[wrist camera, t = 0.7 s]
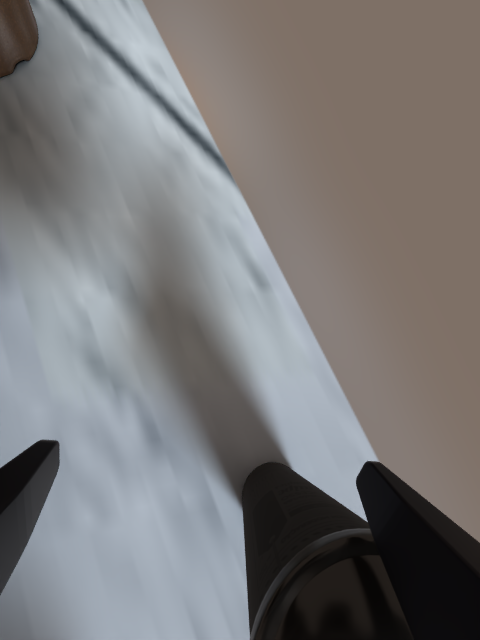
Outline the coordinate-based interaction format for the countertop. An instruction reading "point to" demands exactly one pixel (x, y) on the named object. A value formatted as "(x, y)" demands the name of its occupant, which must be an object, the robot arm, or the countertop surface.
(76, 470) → the countertop surface
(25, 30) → the plant pot
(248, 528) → the drinking cup
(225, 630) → the countertop surface
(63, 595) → the countertop surface
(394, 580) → the robot arm
